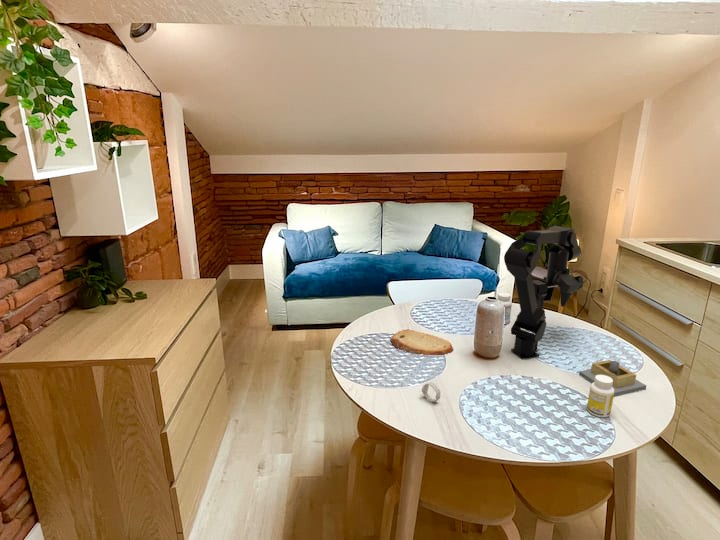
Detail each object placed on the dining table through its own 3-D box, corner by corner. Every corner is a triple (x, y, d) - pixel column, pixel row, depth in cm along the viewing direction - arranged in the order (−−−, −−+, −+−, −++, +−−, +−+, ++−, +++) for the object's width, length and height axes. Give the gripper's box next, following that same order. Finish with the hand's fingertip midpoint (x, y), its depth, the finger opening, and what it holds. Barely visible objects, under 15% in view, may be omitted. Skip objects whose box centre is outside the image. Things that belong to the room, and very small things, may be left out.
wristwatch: (427, 394, 120) (428, 378, 119) (441, 402, 117) (442, 386, 115) (420, 398, 118) (421, 382, 117) (434, 406, 115) (435, 390, 113)
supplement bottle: (602, 405, 115) (608, 372, 112) (614, 418, 110) (621, 384, 107) (582, 405, 115) (588, 373, 112) (593, 418, 110) (599, 384, 107)
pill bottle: (489, 319, 168) (492, 292, 165) (502, 317, 170) (505, 290, 167) (499, 326, 163) (502, 298, 159) (513, 323, 165) (516, 296, 161)
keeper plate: (612, 396, 119) (616, 377, 117) (578, 374, 130) (582, 356, 128) (645, 389, 122) (650, 369, 120) (610, 368, 133) (613, 350, 131)
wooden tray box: (616, 388, 121) (618, 378, 120) (590, 372, 129) (592, 363, 128) (634, 384, 122) (636, 375, 122) (608, 368, 131) (609, 359, 130)
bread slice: (457, 353, 144) (458, 342, 142) (409, 363, 137) (409, 352, 136) (430, 331, 160) (430, 321, 158) (385, 339, 153) (385, 329, 152)
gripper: (551, 274, 133) (545, 320, 138) (599, 268, 139) (591, 313, 143) (527, 264, 143) (522, 308, 148) (573, 259, 149) (566, 301, 154)
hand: (551, 308), depth 148 cm, fingers open, 9 cm apart
